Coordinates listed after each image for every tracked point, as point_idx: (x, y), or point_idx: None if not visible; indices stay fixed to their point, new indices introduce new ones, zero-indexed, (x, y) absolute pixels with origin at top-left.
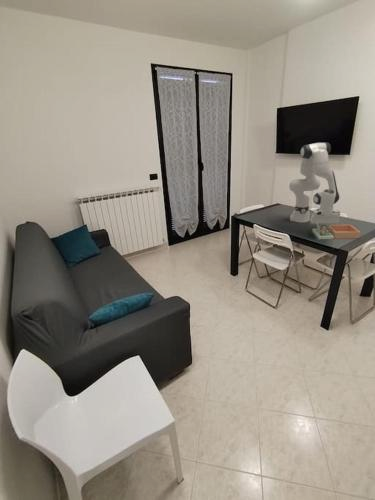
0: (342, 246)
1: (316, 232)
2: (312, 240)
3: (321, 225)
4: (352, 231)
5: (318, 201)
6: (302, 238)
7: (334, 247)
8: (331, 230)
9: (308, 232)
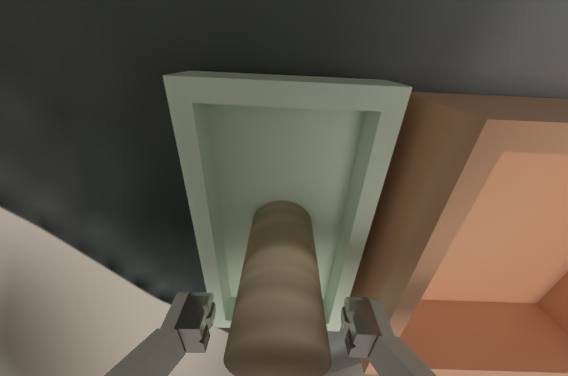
0: (338, 356)
1: (203, 242)
2: (172, 286)
3: (228, 366)
4: None
5: None
6: (83, 249)
7: None
8: (389, 278)
9: (134, 74)
